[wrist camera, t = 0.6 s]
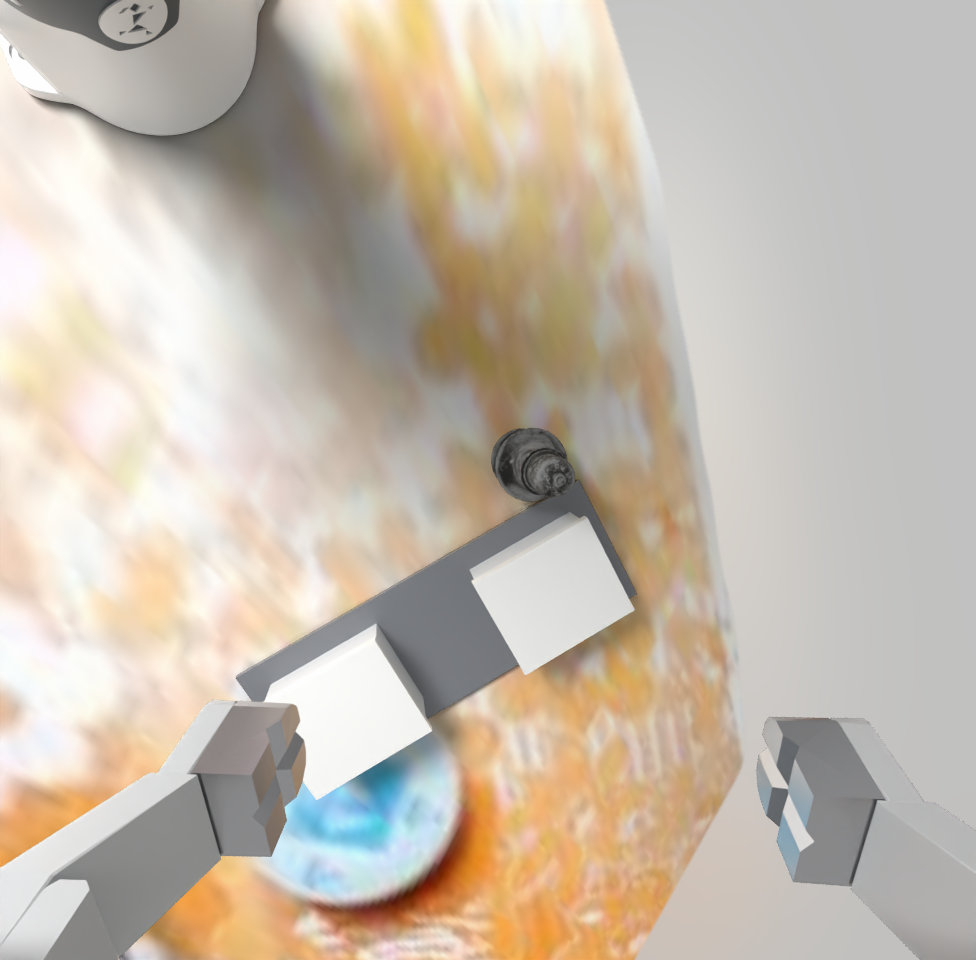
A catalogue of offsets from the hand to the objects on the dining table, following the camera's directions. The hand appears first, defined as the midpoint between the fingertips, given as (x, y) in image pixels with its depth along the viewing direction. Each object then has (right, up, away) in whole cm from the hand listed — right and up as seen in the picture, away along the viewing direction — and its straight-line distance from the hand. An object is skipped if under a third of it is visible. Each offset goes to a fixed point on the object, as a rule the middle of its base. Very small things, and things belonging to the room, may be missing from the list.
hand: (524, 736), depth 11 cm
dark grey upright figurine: (+2, +6, +41) cm, 42 cm away
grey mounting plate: (-4, -9, +42) cm, 43 cm away
